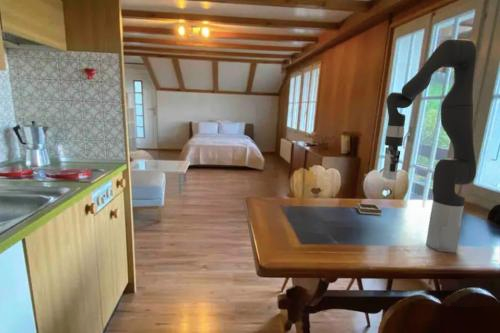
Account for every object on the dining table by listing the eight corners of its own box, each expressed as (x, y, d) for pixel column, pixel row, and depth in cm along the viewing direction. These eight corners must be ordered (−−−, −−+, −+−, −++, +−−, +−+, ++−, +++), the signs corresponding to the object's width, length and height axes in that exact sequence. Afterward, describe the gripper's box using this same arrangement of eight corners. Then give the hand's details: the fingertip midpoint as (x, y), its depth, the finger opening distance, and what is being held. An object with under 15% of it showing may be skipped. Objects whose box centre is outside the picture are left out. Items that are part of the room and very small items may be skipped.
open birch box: (380, 214, 136) (381, 210, 136) (360, 213, 138) (361, 208, 137) (375, 209, 145) (376, 204, 144) (356, 207, 146) (357, 203, 145)
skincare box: (396, 180, 133) (399, 155, 131) (387, 179, 133) (390, 155, 131) (390, 177, 139) (393, 153, 137) (381, 176, 139) (384, 153, 137)
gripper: (408, 137, 125) (403, 173, 128) (397, 135, 138) (393, 167, 142) (391, 136, 126) (386, 172, 129) (381, 134, 140) (377, 166, 143)
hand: (389, 170), depth 135 cm, fingers closed on skincare box, 6 cm apart
